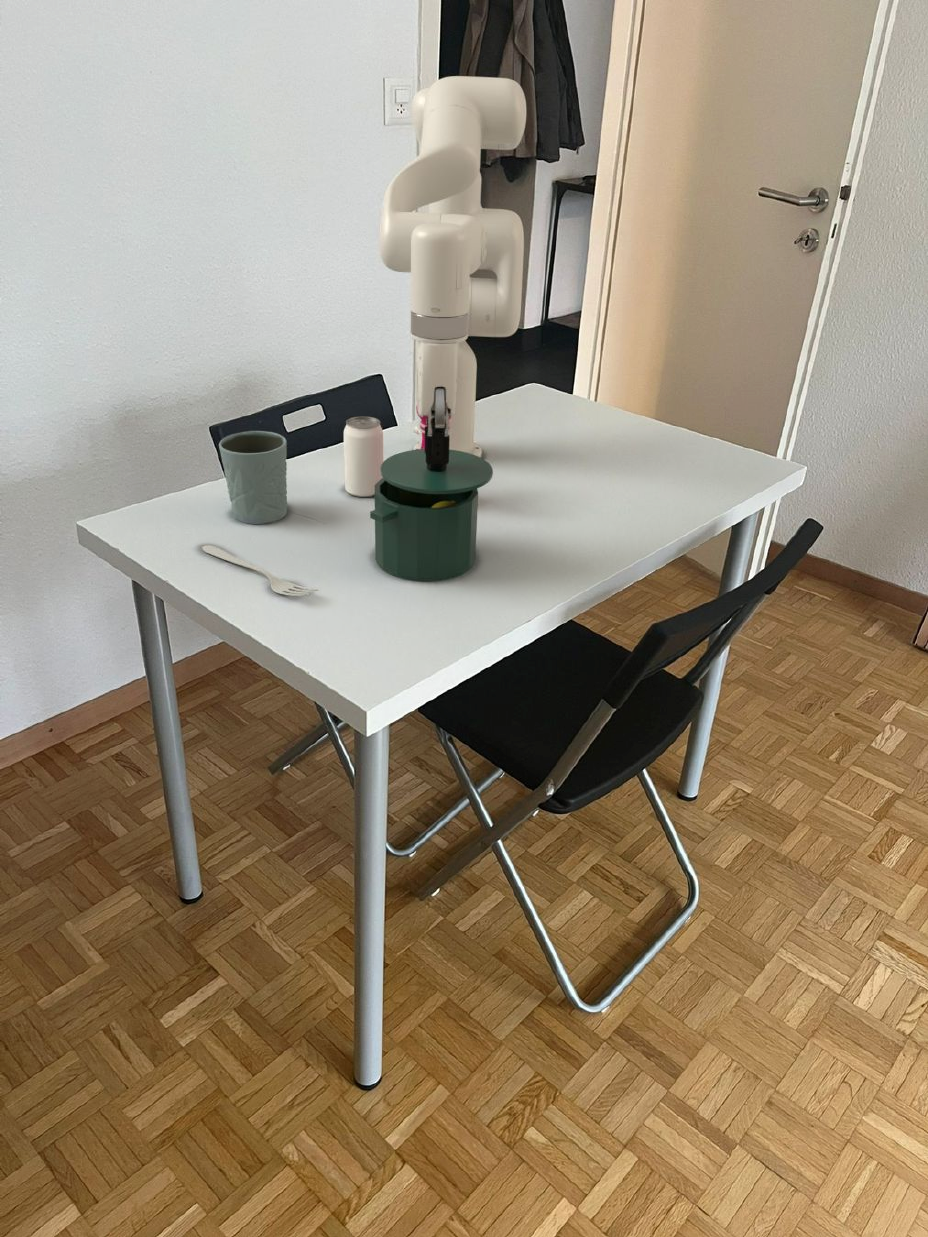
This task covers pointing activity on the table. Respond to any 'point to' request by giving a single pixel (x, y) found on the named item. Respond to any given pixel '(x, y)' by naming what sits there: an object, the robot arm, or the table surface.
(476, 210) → the robot arm
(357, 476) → the can
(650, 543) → the table surface
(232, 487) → the grey-green cup
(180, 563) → the table surface
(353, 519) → the table surface
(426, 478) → the lid
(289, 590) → the fork
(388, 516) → the pot
